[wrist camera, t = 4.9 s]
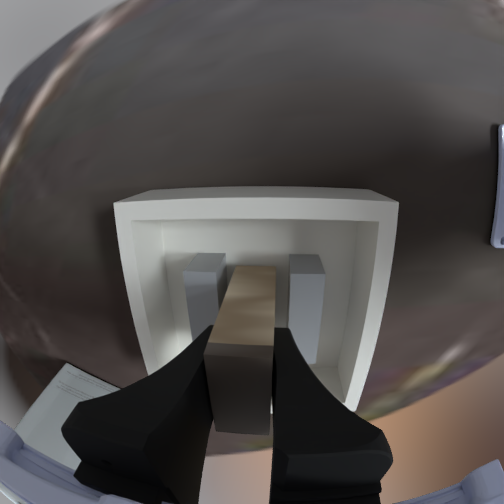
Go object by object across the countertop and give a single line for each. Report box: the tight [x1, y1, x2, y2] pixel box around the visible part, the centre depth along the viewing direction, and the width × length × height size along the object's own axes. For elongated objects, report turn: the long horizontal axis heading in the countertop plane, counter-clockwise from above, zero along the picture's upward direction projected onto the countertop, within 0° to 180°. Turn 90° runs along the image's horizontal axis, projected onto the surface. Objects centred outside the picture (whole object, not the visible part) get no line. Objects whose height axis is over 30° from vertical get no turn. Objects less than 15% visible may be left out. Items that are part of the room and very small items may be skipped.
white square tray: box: [114, 186, 399, 413], centre depth 14 cm, size 12×12×4 cm
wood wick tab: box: [203, 265, 276, 435], centre depth 12 cm, size 2×4×7 cm, turn 1°
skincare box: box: [0, 363, 120, 504], centre depth 14 cm, size 8×6×15 cm
